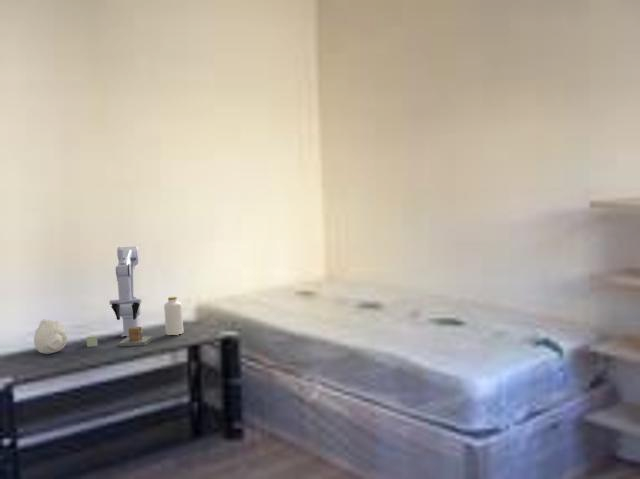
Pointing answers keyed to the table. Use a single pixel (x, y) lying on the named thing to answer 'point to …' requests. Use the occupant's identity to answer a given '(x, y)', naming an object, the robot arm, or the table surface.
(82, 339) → the table surface
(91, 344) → the pale green block
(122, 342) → the grey square tile
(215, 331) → the table surface
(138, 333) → the walnut block
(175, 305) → the potion bottle
